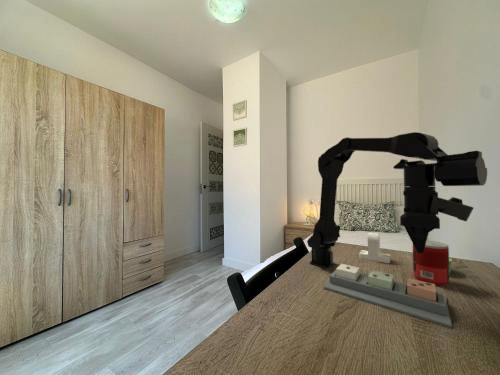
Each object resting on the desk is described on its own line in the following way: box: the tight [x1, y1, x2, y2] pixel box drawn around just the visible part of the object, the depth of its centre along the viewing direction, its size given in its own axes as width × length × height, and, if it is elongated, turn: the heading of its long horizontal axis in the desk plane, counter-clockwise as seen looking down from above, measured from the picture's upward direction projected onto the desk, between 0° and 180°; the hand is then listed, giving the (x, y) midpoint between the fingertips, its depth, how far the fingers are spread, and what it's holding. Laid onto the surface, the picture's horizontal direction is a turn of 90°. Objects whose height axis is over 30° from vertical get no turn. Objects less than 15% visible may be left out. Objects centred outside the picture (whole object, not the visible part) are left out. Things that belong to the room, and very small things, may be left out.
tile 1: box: [335, 263, 361, 281], centre depth 58 cm, size 5×5×2 cm
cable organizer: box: [358, 232, 391, 264], centre depth 79 cm, size 5×10×10 cm, turn 52°
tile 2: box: [368, 270, 395, 291], centre depth 53 cm, size 5×5×2 cm
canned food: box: [412, 239, 450, 287], centre depth 60 cm, size 8×8×11 cm
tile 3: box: [406, 278, 437, 302], centre depth 48 cm, size 5×5×2 cm
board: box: [323, 269, 453, 329], centre depth 53 cm, size 25×14×2 cm, turn 49°
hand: (420, 252), depth 48 cm, fingers closed
